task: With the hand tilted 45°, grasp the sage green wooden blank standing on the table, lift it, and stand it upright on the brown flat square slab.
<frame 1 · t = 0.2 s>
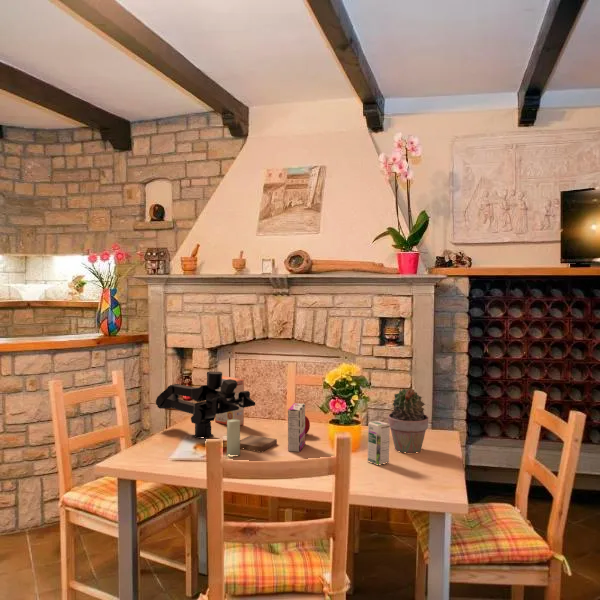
hand: (246, 406, 215), 17 cm above the table, tool horizontal, fingers open, 9 cm apart
syrup box: (378, 463, 200), on the table
apple: (299, 435, 235), on the table
potted plant: (406, 449, 216), on the table
candy bar box: (296, 448, 217), on the table
cracker box: (229, 423, 252), on the table
brown flat square slab: (256, 445, 219), on the table
green blank: (233, 455, 207), on the table
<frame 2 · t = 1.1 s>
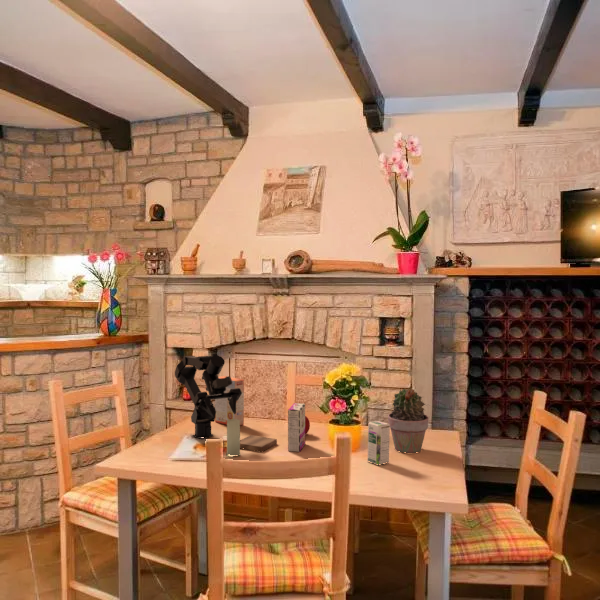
hand: (224, 415, 213), 13 cm above the table, tool tilted 45°, fingers open, 9 cm apart
nothing on the table moved.
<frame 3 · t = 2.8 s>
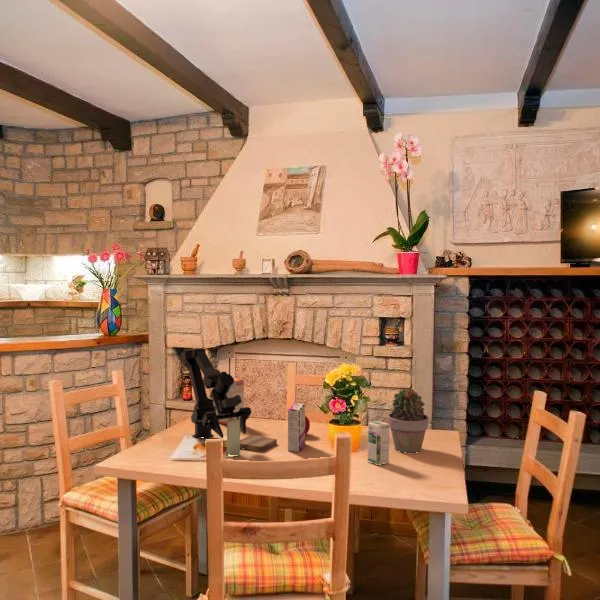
hand: (234, 435, 206), 8 cm above the table, tool tilted 45°, fingers open, 9 cm apart
nothing on the table moved.
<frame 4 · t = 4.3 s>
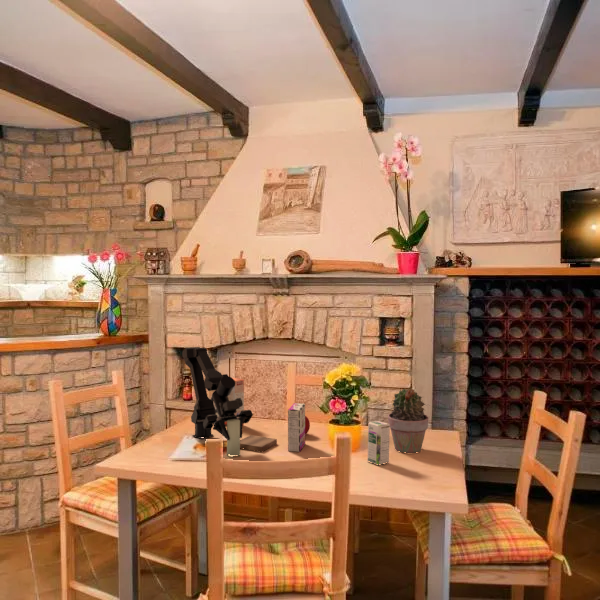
hand: (235, 438, 206), 7 cm above the table, tool tilted 45°, fingers closed on green blank, 5 cm apart
green blank: (233, 455, 207), on the table, touching gripper
everything else where it was.
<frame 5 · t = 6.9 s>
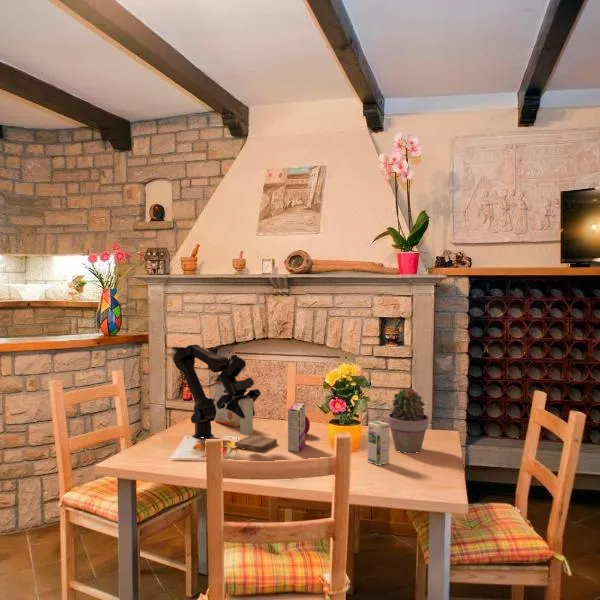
hand: (249, 416, 211), 13 cm above the table, tool tilted 45°, fingers closed on green blank, 5 cm apart
green blank: (246, 433, 212), point 7 cm above the table, touching gripper
everything else where it was.
when the fingers open (9 cm above the table, at t = 9.8 s): green blank stays where it is, resting on brown flat square slab.
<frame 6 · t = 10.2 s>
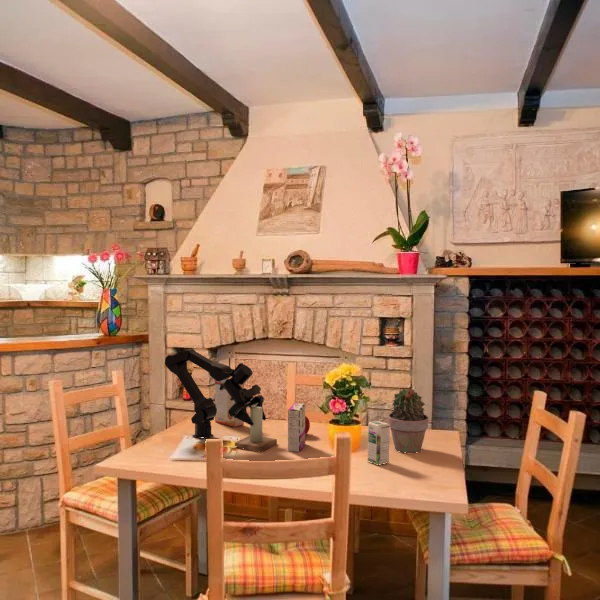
hand: (259, 422, 218), 10 cm above the table, tool tilted 45°, fingers open, 9 cm apart
green blank: (256, 440, 219), point 2 cm above the table, touching brown flat square slab
everything else where it was.
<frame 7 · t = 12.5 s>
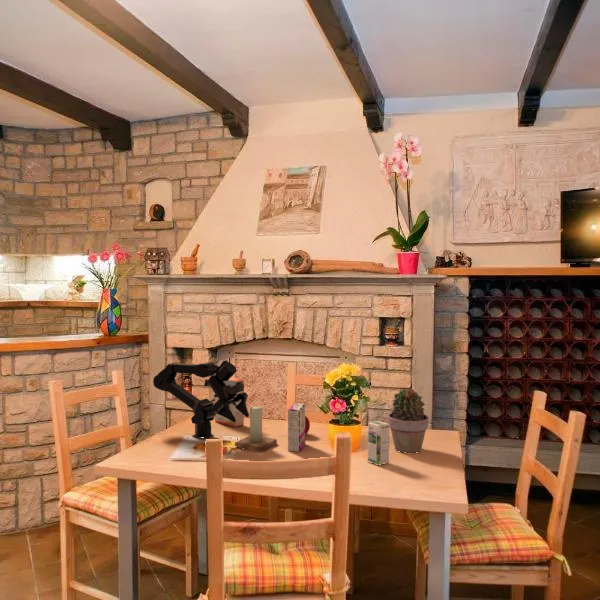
hand: (241, 419, 222), 10 cm above the table, tool tilted 45°, fingers open, 9 cm apart
nothing on the table moved.
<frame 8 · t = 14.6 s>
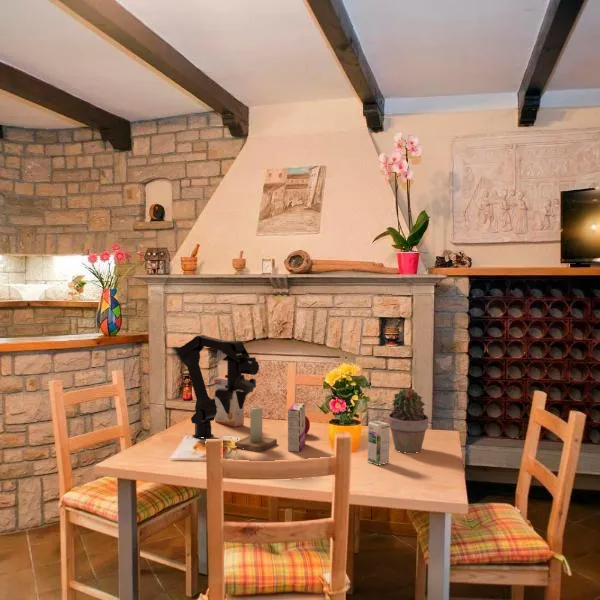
hand: (234, 411, 221), 13 cm above the table, tool pointing down, fingers open, 9 cm apart
nothing on the table moved.
at the end: green blank inside the target area on the brown flat square slab (0.1 cm from its centre), point 2.0 cm above the brown flat square slab's base; green blank tilted 0°; the gripper is holding nothing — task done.
